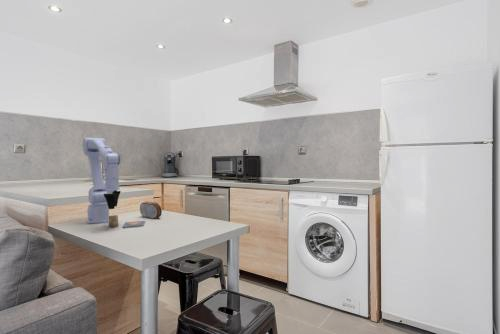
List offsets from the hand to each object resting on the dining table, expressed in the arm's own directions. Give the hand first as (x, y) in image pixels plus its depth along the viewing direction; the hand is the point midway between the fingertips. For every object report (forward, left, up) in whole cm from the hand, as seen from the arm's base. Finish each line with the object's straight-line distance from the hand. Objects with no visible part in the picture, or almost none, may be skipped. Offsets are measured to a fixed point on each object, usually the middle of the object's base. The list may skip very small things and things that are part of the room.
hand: (113, 207), depth 131 cm
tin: (+16, +15, -9) cm, 24 cm away
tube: (0, 0, -9) cm, 9 cm away
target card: (+9, 0, -9) cm, 13 cm away
